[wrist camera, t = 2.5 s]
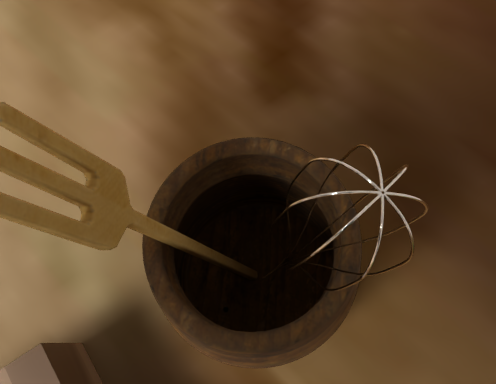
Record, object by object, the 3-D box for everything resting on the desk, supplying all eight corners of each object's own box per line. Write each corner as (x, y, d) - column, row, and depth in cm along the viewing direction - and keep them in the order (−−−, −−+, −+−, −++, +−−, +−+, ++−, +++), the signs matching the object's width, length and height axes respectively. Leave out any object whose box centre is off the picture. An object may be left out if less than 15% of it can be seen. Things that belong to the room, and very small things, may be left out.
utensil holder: (345, 365, 16) (508, 421, 5) (164, 359, 17) (-76, 396, 5) (340, 200, 18) (453, -41, 7) (177, 198, 18) (19, -35, 7)
